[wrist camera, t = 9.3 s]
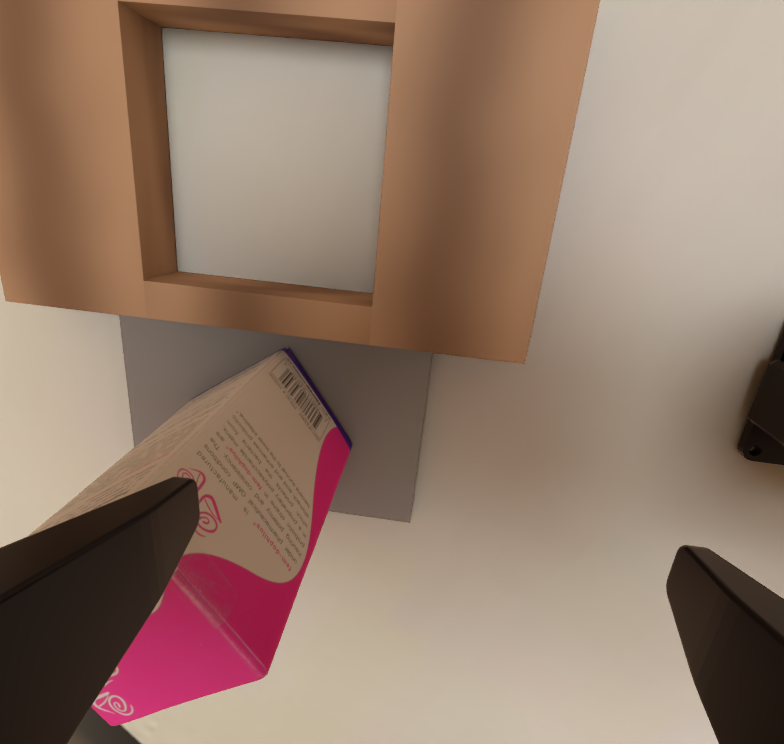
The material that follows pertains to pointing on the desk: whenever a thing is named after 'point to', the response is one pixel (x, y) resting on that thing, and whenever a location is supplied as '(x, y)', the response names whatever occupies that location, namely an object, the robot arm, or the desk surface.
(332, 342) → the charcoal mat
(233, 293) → the brown wooden frame
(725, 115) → the desk surface
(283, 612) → the supplement box
